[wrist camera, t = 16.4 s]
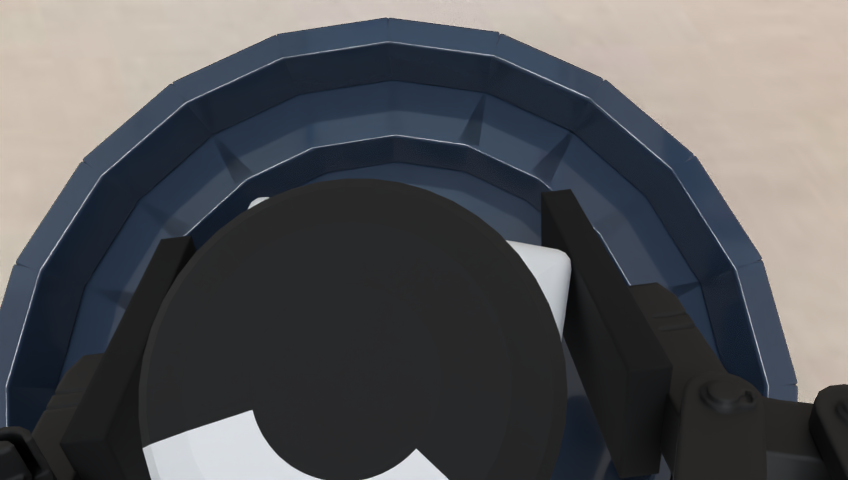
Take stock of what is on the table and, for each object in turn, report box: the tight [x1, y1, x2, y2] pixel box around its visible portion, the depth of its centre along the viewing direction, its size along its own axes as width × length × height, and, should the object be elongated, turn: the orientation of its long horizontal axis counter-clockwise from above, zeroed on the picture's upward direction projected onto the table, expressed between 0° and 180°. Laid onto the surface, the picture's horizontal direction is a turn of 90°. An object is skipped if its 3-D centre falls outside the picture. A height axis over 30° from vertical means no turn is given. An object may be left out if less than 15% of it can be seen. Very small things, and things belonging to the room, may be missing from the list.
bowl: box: [0, 18, 798, 480], centre depth 19 cm, size 20×20×5 cm
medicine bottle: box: [139, 178, 572, 480], centre depth 15 cm, size 7×7×12 cm
